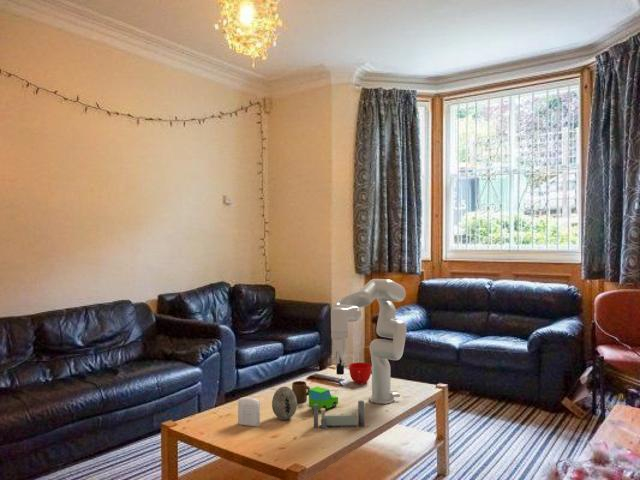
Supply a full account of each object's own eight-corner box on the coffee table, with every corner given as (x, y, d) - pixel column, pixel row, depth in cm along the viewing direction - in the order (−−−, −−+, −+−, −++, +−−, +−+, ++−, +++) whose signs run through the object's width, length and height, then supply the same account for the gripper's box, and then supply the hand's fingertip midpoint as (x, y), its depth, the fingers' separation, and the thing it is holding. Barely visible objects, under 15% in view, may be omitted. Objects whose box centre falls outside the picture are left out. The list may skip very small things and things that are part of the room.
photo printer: (261, 423, 228) (261, 396, 228) (257, 427, 224) (257, 399, 224) (241, 421, 231) (240, 395, 231) (236, 425, 227) (236, 398, 227)
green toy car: (340, 406, 249) (340, 386, 249) (322, 413, 240) (322, 393, 240) (325, 402, 256) (325, 382, 256) (307, 409, 247) (307, 388, 247)
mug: (315, 402, 255) (315, 384, 255) (304, 406, 250) (304, 388, 250) (300, 397, 264) (299, 380, 264) (289, 401, 259) (288, 383, 258)
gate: (355, 423, 224) (355, 407, 224) (356, 425, 222) (355, 409, 222) (321, 423, 225) (320, 408, 225) (321, 425, 223) (320, 409, 223)
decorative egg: (276, 425, 226) (275, 392, 226) (269, 416, 237) (268, 385, 237) (300, 421, 230) (300, 388, 230) (292, 412, 241) (292, 382, 241)
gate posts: (364, 424, 225) (363, 400, 225) (365, 428, 221) (365, 403, 221) (313, 425, 224) (313, 401, 224) (313, 429, 220) (313, 404, 220)
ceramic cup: (347, 387, 280) (347, 369, 280) (350, 378, 297) (350, 362, 297) (370, 388, 278) (370, 370, 278) (372, 379, 295) (372, 362, 295)
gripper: (334, 331, 237) (335, 369, 237) (328, 337, 223) (329, 378, 223) (350, 331, 236) (350, 370, 236) (344, 338, 221) (345, 379, 221)
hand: (340, 374), depth 229 cm, fingers closed
